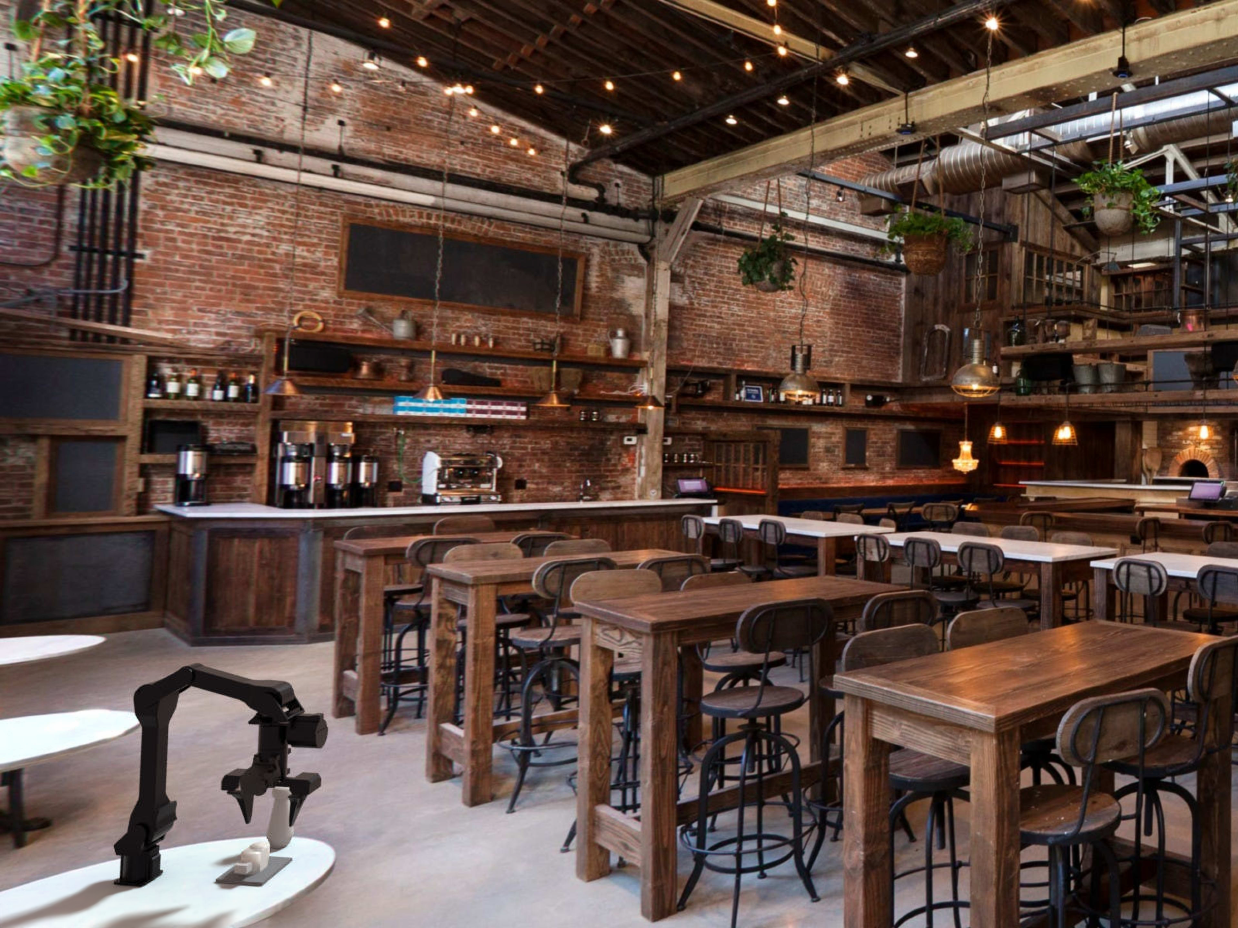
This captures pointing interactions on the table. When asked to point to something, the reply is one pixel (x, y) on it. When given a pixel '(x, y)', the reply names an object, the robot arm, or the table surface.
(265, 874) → the coaster
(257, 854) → the plug
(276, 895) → the table surface
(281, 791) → the salt shaker
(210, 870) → the table surface
